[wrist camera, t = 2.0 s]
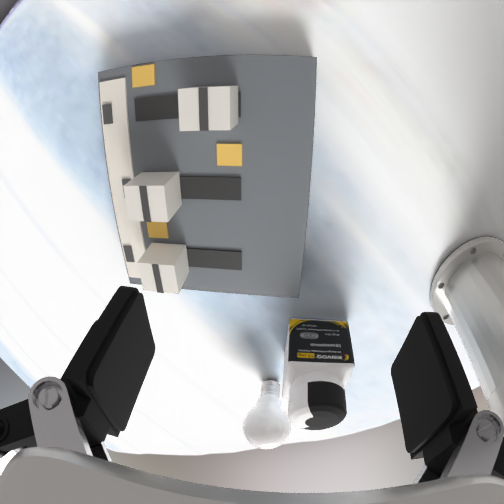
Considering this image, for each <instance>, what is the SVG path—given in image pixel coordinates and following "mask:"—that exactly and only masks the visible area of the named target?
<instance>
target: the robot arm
mask: <svg viewBox="0 0 504 504" xmlns="http://www.w3.org/2000/svg"><path fill="white" fill-rule="evenodd" d="M430 301H431V306H432V308H433V310H434V312H423V313H421V315H420V316H418V317H417V318H416V319H415V321H414V323H413V326H412V328H411V330H410V332H409V334H408V336H407V338H406V340H405V342H404V344H403V346H402V348H401V349H400V351H399V353H398V355H397V357H396V359H395V361H394V363H393V364H392V367H391V376H392V380H393V384H394V389H395V393H396V398H397V403H398V408H399V413H400V418H401V423H402V428H403V434H404V439H405V446H406V450H407V452H408V453H410V455H411V459H418V458H424V461H425V465H424V466H423V468H422V470H421V471H420V473H419V475H418V476H417V478H416V480H415V481H414V483H413V484H411V485H404V486H398V487H391V488H383V489H375V490H365V491H353V492H339V493H337V492H336V493H279V492H262V491H250V490H240V489H232V488H224V487H217V486H209V485H203V484H198V483H192V482H187V481H182V480H178V479H173V478H168V477H164V476H160V475H156V474H152V473H148V472H144V471H140V470H136V469H133V468H130V467H126V466H123V465H119V464H116V463H113V462H112V460H111V458H110V456H109V454H108V451H107V449H106V446H105V444H104V440H105V438H106V435H107V434H109V435H112V436H116V437H118V435H119V433H120V431H124V430H125V428H126V426H127V423H128V420H129V418H130V415H131V412H132V410H133V407H134V404H135V402H136V399H137V396H138V394H139V391H140V389H141V386H142V384H143V381H144V379H145V376H146V373H147V371H148V368H149V366H150V363H151V361H152V359H153V356H154V353H155V344H154V340H153V336H152V332H151V328H150V324H149V320H148V316H147V311H146V307H145V302H144V298H143V294H142V293H139V291H138V289H137V288H133V287H126V286H120V287H119V288H118V290H117V291H116V293H115V294H114V296H113V297H112V299H111V300H110V302H109V303H108V305H107V307H106V308H105V310H104V311H103V313H102V314H101V316H100V318H99V319H98V320H97V321H95V323H94V324H93V325H92V327H91V328H90V330H89V332H88V333H87V335H86V337H85V338H84V340H83V342H82V343H81V345H80V347H79V348H78V350H77V352H76V353H75V355H74V357H73V358H72V360H71V362H70V364H69V365H68V367H67V369H66V371H65V372H64V374H63V376H62V378H61V379H58V378H56V377H45V378H42V379H40V380H38V381H37V382H36V383H35V384H34V385H33V386H32V388H31V389H30V392H29V395H28V399H27V400H24V401H22V402H19V403H16V404H14V405H11V406H9V407H6V408H3V409H1V410H0V504H504V242H502V241H501V240H500V239H497V238H495V237H488V236H487V237H479V238H476V239H473V240H470V241H469V242H467V243H465V244H463V245H462V246H460V247H459V248H457V249H456V250H455V251H454V252H453V253H452V254H451V255H450V256H449V257H448V258H447V259H446V260H445V261H444V263H443V264H442V265H441V266H440V268H439V270H438V272H437V273H436V275H435V278H434V280H433V282H432V286H431V290H430ZM443 322H445V323H447V324H452V325H455V327H456V329H457V332H458V334H459V336H460V338H461V340H462V342H463V345H464V347H465V349H466V351H467V354H468V356H469V358H470V361H471V363H472V366H473V368H474V370H475V373H476V375H477V378H478V381H479V383H480V386H481V388H482V391H483V394H484V397H485V399H486V402H487V405H488V408H489V410H483V411H480V412H477V405H476V401H475V399H474V396H473V393H472V390H471V387H470V385H469V382H468V379H467V377H466V374H465V372H464V369H463V367H462V364H461V362H460V359H459V357H458V354H457V352H456V350H455V347H454V345H453V343H452V340H451V338H450V336H449V334H448V331H447V329H446V327H445V325H444V323H443Z"/></svg>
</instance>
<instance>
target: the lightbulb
mask: <svg viewBox="0 0 504 504" xmlns="http://www.w3.org/2000/svg"><path fill="white" fill-rule="evenodd" d="M279 393H280V384H279V383H278V382H276V381H273V380H267V381H264V382H263V383H262V389H261V396H260V398H259V399H258V402H257V404H256V406H255V407H254V408H253V409H252V410H251V411H250V412H249V413H248V414H247V415H246V417H245V419H244V422H243V432H244V435H245V437H246V439H247V440H248V441H249V442H250V443H251V444H252V445H254V446H255V447H258V448H261V449H272V448H276V447H278V446H280V445H281V444H283V443H284V442H285V441H286V440H287V438H288V436H289V434H290V431H291V422H290V420H289V419H288V415H287V414H286V412H285V411H284V410H283V408H282V405H281V400H280V398H279V395H280V394H279Z"/></svg>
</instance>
